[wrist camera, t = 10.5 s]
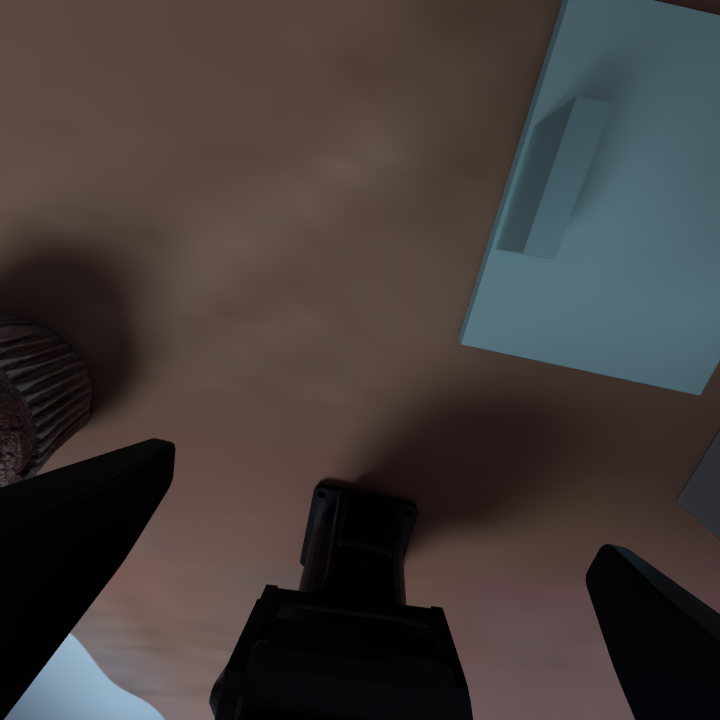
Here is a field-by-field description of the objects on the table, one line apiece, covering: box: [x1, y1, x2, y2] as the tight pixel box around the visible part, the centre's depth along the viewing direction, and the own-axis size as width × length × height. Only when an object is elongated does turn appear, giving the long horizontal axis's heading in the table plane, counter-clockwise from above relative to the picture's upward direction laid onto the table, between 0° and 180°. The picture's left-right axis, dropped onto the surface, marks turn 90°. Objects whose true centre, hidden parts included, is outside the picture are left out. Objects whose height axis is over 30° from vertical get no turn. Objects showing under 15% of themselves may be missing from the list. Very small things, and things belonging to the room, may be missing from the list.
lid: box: [458, 0, 720, 396], centre depth 15 cm, size 14×12×5 cm
